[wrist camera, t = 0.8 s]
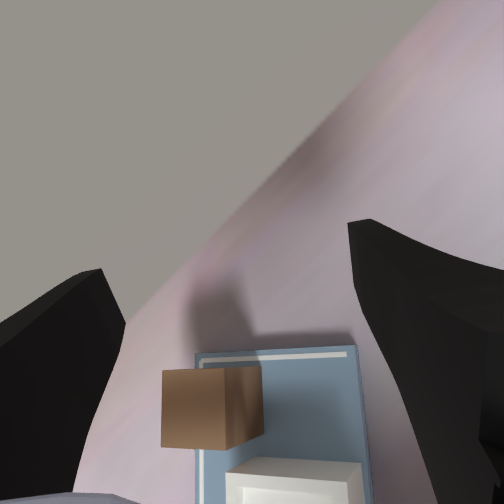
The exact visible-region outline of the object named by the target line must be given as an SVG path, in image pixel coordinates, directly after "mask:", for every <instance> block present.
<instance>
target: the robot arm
mask: <svg viewBox="0 0 504 504" xmlns="http://www.w3.org/2000/svg"><path fill="white" fill-rule="evenodd" d="M347 224H348V234H349V243H350V253H351V263H352V272H353V282H354V287H355V290H356V293H357V296H358V300H359V303H360V306H361V309H362V312H363V314H364V316H365V318H366V321H367V323H368V325H369V327H370V329H371V331H372V333H373V335H374V337H375V339H376V341H377V343H378V346H379V348H380V350H381V352H382V354H383V356H384V358H385V360H386V362H387V364H388V366H389V368H390V370H391V372H392V374H393V377H394V379H395V381H396V384H397V386H398V388H399V391H400V393H401V396H402V399H403V402H404V404H405V407H406V410H407V413H408V416H409V418H410V421H411V424H412V427H413V430H414V433H415V436H416V439H417V442H418V445H419V447H420V450H421V453H422V456H423V459H424V462H425V465H426V468H427V471H428V474H429V477H430V480H431V483H432V486H433V490H434V493H435V496H436V499H437V502H438V504H504V270H501V269H497V268H493V267H489V266H485V265H482V264H478V263H475V262H472V261H468V260H465V259H461V258H458V257H456V256H453V255H450V254H447V253H444V252H442V251H439V250H437V249H434V248H432V247H429V246H427V245H425V244H422V243H420V242H418V241H416V240H413V239H411V238H409V237H407V236H405V235H403V234H401V233H399V232H397V231H395V230H393V229H391V228H389V227H387V226H385V225H383V224H381V223H379V222H377V221H375V220H372V219H365V220H360V221H354V222H349V223H347ZM125 325H126V322H125V320H124V318H123V316H122V313H121V311H120V309H119V307H118V305H117V302H116V300H115V298H114V296H113V294H112V291H111V289H110V287H109V285H108V282H107V280H106V278H105V276H104V273H103V271H102V269H95V270H90V271H85V272H81V273H79V274H77V275H74V276H72V277H71V278H69V279H67V280H66V281H64V282H63V283H61V284H59V285H58V286H56V287H54V288H53V289H51V290H50V291H48V292H47V293H45V294H44V295H42V296H41V297H39V298H38V299H36V300H35V301H33V302H32V303H31V304H29V305H27V306H26V307H24V308H23V309H21V310H20V311H18V312H17V313H15V314H14V315H12V316H10V317H9V318H7V319H6V320H4V321H3V322H1V323H0V504H139V503H137V502H134V501H131V500H128V499H125V498H122V497H120V496H117V495H114V494H102V493H73V492H72V491H73V487H74V483H75V479H76V474H77V470H78V467H79V463H80V460H81V456H82V452H83V449H84V445H85V442H86V438H87V435H88V432H89V429H90V426H91V423H92V420H93V418H94V415H95V413H96V410H97V408H98V405H99V403H100V400H101V398H102V395H103V393H104V390H105V388H106V385H107V383H108V380H109V378H110V376H111V373H112V370H113V368H114V365H115V363H116V360H117V357H118V355H119V352H120V348H121V344H122V340H123V335H124V330H125Z"/></svg>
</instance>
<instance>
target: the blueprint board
mask: <svg viewBox="0 0 504 504" xmlns="http://www.w3.org/2000/svg"><path fill="white" fill-rule="evenodd" d="M250 366H262V389H263V412H264V434H263V435H260V436H258V437H256V438H254V439H251V440H249V441H247V442H245V443H242V444H240V445H238V446H236V447H233V448H231V449H229V450H227V451H219V450H201V449H195V504H374V496H373V487H372V478H371V468H370V459H369V450H368V440H367V431H366V422H365V412H364V403H363V394H362V384H361V375H360V366H359V356H358V347H357V345H345V346H326V347H308V348H289V349H270V350H252V351H233V352H215V353H196V354H195V369H199V368H222V367H250Z"/></svg>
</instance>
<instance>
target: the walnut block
mask: <svg viewBox="0 0 504 504" xmlns="http://www.w3.org/2000/svg"><path fill="white" fill-rule="evenodd" d="M263 434H264V412H263V389H262V366H250V367H222V368H199V369H180V370H162V415H161V447H166V448H184V449H201V450H219V451H227V450H229V449H231V448H233V447H236V446H238V445H240V444H242V443H245V442H247V441H249V440H251V439H254V438H256V437H258V436H260V435H263Z"/></svg>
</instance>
